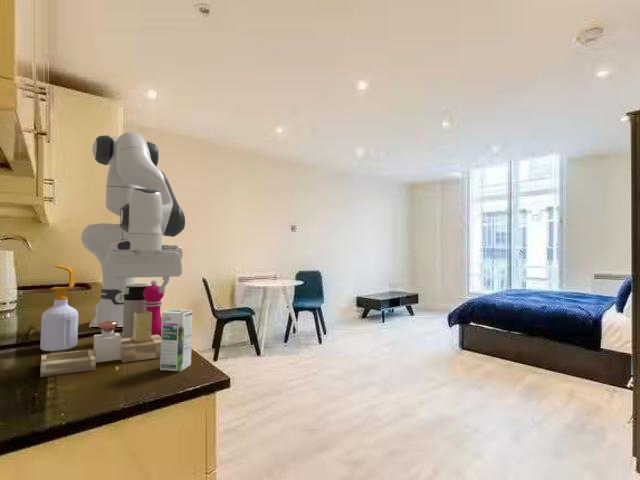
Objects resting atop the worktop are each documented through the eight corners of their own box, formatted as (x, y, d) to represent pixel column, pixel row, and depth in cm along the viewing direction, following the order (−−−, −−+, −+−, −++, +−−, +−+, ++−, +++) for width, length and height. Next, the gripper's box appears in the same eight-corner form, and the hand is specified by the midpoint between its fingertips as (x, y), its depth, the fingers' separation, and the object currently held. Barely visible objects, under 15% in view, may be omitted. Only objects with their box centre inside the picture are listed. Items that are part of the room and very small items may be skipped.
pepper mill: (155, 347, 116) (157, 281, 117) (134, 346, 118) (136, 280, 118) (169, 342, 123) (171, 279, 124) (149, 340, 125) (151, 279, 125)
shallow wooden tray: (41, 364, 97) (41, 355, 97) (91, 358, 104) (91, 349, 104) (40, 377, 88) (40, 366, 88) (95, 369, 95) (95, 359, 95)
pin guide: (93, 357, 105) (94, 335, 105) (117, 354, 109) (118, 332, 109) (95, 362, 100) (96, 339, 100) (120, 359, 104) (121, 336, 104)
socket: (117, 352, 110) (117, 338, 110) (157, 347, 116) (158, 334, 116) (122, 362, 101) (123, 347, 101) (166, 356, 107) (167, 342, 107)
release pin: (96, 355, 105) (98, 322, 105) (114, 353, 108) (116, 320, 108) (98, 359, 101) (99, 324, 102) (117, 357, 104) (118, 323, 104)
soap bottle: (46, 344, 117) (50, 264, 118) (81, 343, 120) (83, 264, 120) (34, 352, 108) (38, 265, 109) (72, 350, 111) (75, 265, 112)
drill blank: (132, 354, 109) (133, 311, 109) (147, 352, 111) (149, 310, 112) (135, 357, 106) (136, 313, 106) (150, 355, 108) (152, 312, 108)
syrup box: (158, 370, 95) (160, 311, 95) (171, 363, 101) (173, 308, 101) (180, 372, 94) (182, 312, 95) (191, 365, 100) (193, 309, 100)
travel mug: (150, 340, 126) (152, 285, 126) (123, 342, 121) (125, 285, 122) (147, 335, 132) (148, 283, 133) (121, 337, 128) (123, 283, 129)
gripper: (179, 245, 118) (178, 290, 117) (103, 243, 106) (101, 294, 106) (185, 245, 113) (184, 292, 112) (106, 243, 101) (104, 296, 100)
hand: (143, 293), depth 109 cm, fingers open, 8 cm apart
